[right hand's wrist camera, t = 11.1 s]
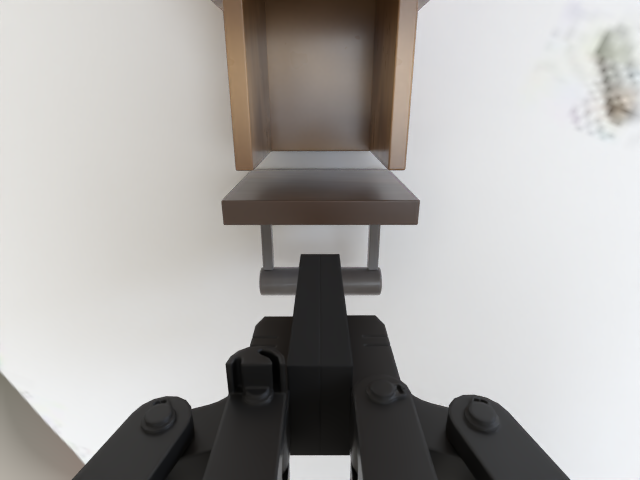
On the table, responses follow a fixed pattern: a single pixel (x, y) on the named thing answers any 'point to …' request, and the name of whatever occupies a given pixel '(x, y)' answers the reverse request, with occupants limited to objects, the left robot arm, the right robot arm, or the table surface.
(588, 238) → the table surface
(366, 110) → the drawer
